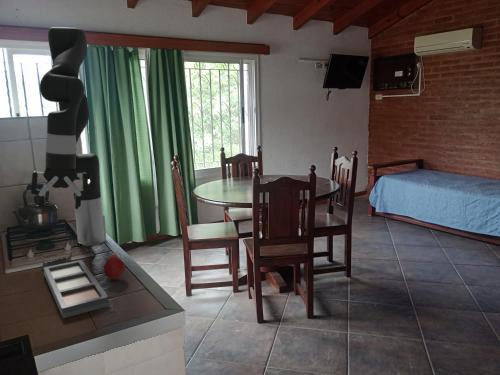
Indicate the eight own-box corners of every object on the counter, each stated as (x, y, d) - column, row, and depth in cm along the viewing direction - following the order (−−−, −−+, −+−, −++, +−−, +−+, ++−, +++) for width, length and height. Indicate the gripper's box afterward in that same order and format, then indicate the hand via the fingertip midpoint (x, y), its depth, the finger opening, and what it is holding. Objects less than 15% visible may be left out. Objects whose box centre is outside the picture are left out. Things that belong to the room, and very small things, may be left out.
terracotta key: (61, 297, 107) (61, 295, 107) (93, 289, 111) (93, 288, 111) (67, 309, 100) (67, 308, 100) (101, 301, 105) (101, 299, 104)
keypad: (44, 275, 123) (43, 267, 123) (82, 267, 129) (81, 259, 129) (62, 318, 98) (61, 308, 98) (108, 306, 104) (108, 296, 104)
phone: (41, 268, 126) (46, 252, 140) (41, 272, 127) (47, 255, 140) (69, 265, 129) (71, 249, 143) (69, 268, 129) (71, 252, 143)
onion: (106, 285, 116) (103, 259, 115) (103, 278, 121) (101, 252, 120) (126, 281, 119) (125, 255, 117) (123, 274, 124) (121, 249, 122)
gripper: (87, 150, 117) (85, 205, 120) (31, 147, 111) (30, 205, 114) (90, 154, 111) (88, 211, 114) (31, 151, 104) (30, 212, 107)
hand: (59, 208), depth 114 cm, fingers open, 8 cm apart
